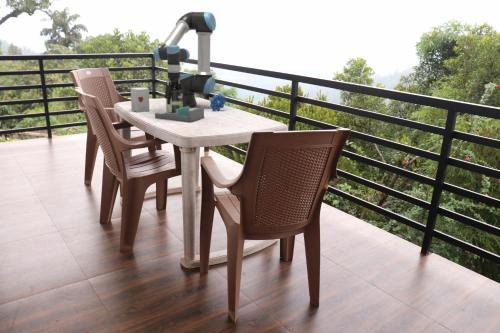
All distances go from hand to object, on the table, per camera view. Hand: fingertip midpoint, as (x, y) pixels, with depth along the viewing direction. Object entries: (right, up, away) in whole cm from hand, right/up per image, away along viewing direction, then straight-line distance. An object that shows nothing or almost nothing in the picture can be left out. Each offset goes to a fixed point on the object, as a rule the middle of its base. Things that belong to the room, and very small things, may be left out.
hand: (174, 108), depth 255 cm
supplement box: (-27, +1, +20) cm, 33 cm away
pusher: (+5, -6, -1) cm, 8 cm away
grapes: (+24, +3, +31) cm, 40 cm away
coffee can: (0, -3, +1) cm, 3 cm away
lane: (+3, -6, 0) cm, 7 cm away
